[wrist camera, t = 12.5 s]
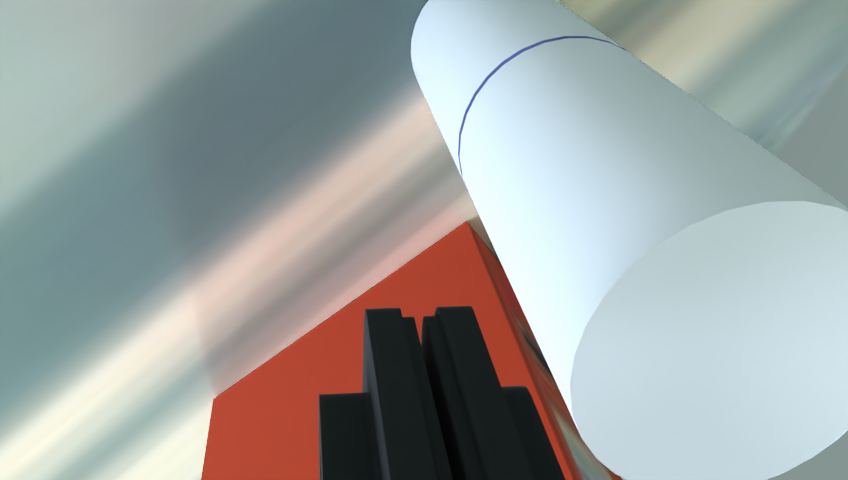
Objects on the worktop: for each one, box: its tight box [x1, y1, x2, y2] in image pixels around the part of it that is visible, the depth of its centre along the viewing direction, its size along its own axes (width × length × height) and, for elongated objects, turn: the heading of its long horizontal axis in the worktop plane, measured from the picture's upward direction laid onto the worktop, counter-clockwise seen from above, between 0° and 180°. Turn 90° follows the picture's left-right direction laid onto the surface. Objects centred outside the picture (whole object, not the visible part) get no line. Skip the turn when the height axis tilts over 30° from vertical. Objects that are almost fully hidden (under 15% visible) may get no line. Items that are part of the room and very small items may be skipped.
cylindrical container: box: [411, 0, 848, 480], centre depth 27 cm, size 7×7×25 cm
